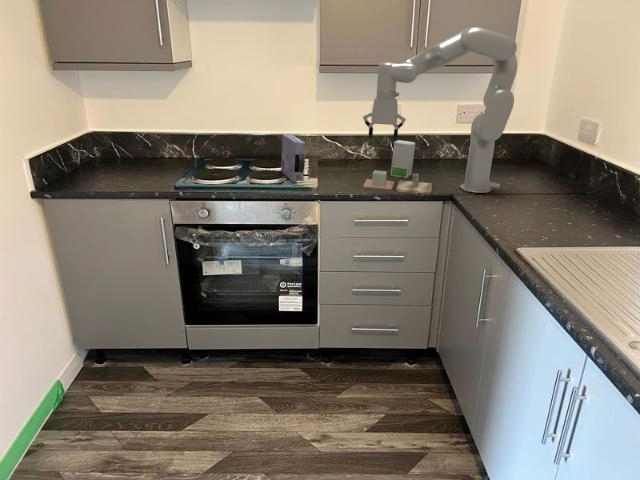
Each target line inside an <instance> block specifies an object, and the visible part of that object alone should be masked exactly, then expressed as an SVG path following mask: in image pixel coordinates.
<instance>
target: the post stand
mask: <svg viewBox="0 0 640 480" xmlns="http://www.w3.org/2000/svg"><path fill="white" fill-rule="evenodd" d="M419 175H420V174H419V173H412V178H411V179H412V180H411V181H410V180H399V181H398V183H397V185H396V186H397V187H396V190H395V191H396V192H400V193H408V194H409V193H410V194H418V193H421V195H431V196H432V188H433V183H432V182H422V181H421V182H420V181H419Z"/></svg>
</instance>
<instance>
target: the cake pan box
mask: <svg viewBox="0 0 640 480" xmlns="http://www.w3.org/2000/svg"><path fill="white" fill-rule="evenodd" d="M281 137H282V138H281V139H282V140H281V161H280V162H281V164H280V165H281V167H280V171H281V170H282V171H283V173H284V174H285V175H286V176H287V177H288V178H289V179H288V178H287V177H286V176H285V175H284V174H283V173H282V174H283V175H284V176H285V177H286V178H287V179H288V180H290V181H291V180H292V181H293V182H297V181H303V182H304V172H305V161H306V159H305V158H306V142H305V141H303V140H301V139H300V138H298V137H297V136H295V135H294V134H292V133H283V134H282V136H281ZM292 181H291V182H292ZM293 182H292V183H293Z"/></svg>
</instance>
